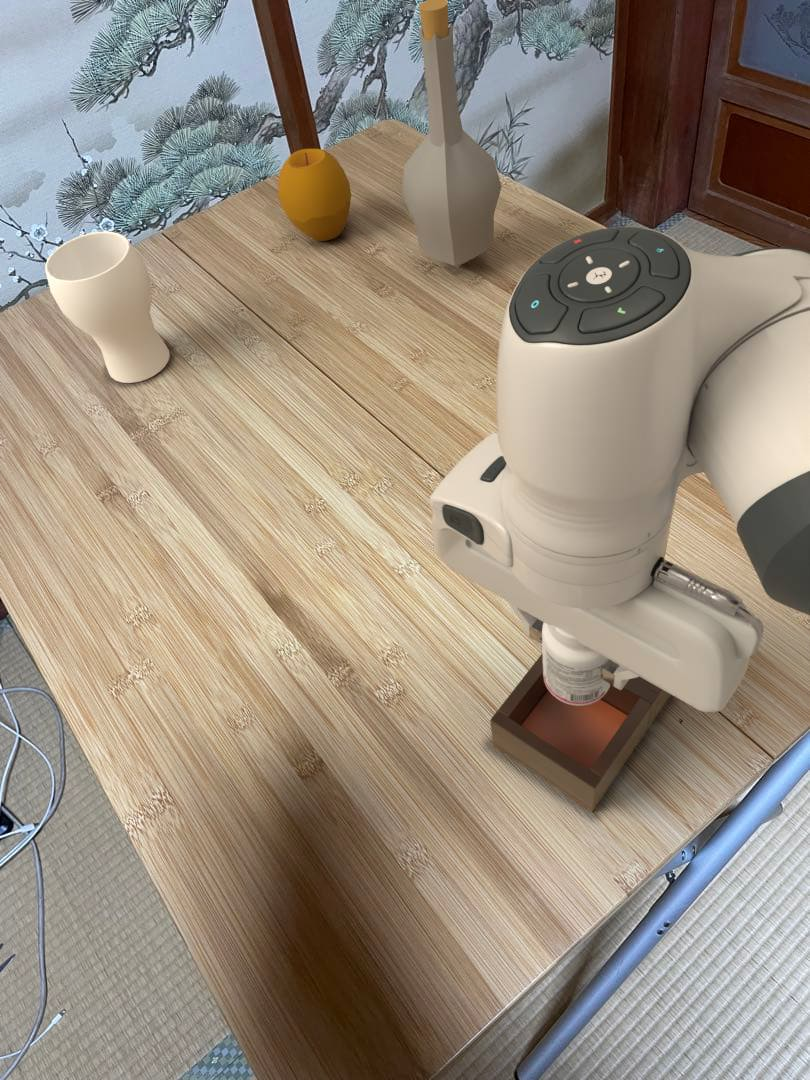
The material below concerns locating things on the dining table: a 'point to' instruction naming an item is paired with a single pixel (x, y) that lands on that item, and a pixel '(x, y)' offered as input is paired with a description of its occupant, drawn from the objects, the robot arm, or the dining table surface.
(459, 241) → the bottle
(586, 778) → the holder
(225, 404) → the dining table surface
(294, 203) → the orange candle
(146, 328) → the cup
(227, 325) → the dining table surface
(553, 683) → the pill bottle
